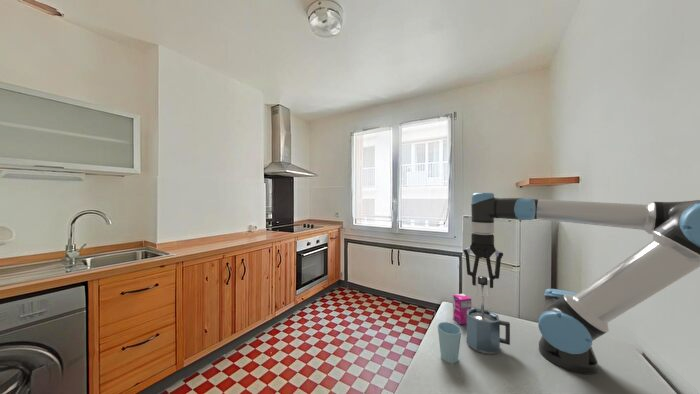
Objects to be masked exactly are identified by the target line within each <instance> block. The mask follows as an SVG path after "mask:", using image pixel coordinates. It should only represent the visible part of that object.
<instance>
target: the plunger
mask: <svg viewBox="0 0 700 394" xmlns="http://www.w3.org/2000/svg"><path fill="white" fill-rule="evenodd" d="M477 276H478V285H480V309H481V313H480V312H473V313H471V314H470V316H472V317H474V318H476V319H477V320H482V321H487V322H492V321H495V319H494V318H493V317H492V316H490V315H488V314H485V313H484V310H485V286H487V278H488V277H487V276H484V275H477Z"/></svg>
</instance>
